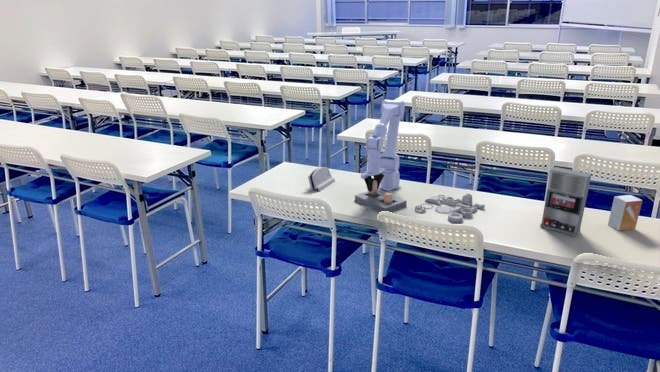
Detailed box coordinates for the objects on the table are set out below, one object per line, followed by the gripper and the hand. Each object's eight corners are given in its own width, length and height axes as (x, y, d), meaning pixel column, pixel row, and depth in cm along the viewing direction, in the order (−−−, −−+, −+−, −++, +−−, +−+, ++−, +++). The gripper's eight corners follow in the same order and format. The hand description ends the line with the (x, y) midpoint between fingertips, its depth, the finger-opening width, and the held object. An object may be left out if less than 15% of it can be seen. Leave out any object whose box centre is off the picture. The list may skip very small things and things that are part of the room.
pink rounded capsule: (373, 190, 224) (373, 179, 222) (378, 193, 221) (379, 181, 219) (366, 192, 222) (367, 180, 220) (372, 195, 219) (372, 183, 217)
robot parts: (408, 211, 212) (409, 200, 211) (437, 195, 230) (438, 185, 228) (458, 226, 197) (459, 215, 195) (485, 208, 214) (486, 197, 212)
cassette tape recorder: (539, 227, 194) (549, 170, 185) (544, 222, 198) (554, 166, 190) (575, 237, 186) (587, 178, 177) (580, 232, 190) (591, 174, 181)
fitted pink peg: (387, 203, 218) (388, 191, 216) (394, 206, 215) (394, 194, 213) (381, 206, 216) (382, 193, 214) (387, 208, 213) (388, 196, 211)
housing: (354, 200, 222) (354, 195, 222) (376, 193, 231) (376, 188, 230) (384, 213, 208) (385, 208, 207) (406, 205, 216) (406, 200, 215)
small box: (619, 231, 190) (626, 202, 186) (607, 224, 196) (613, 196, 191) (635, 229, 192) (643, 200, 187) (623, 222, 198) (630, 194, 193)
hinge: (319, 191, 233) (313, 172, 231) (311, 193, 236) (305, 174, 234) (335, 181, 247) (329, 163, 245) (328, 182, 249) (322, 165, 248)
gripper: (379, 157, 223) (378, 184, 228) (356, 163, 215) (356, 190, 220) (389, 160, 218) (388, 188, 223) (367, 167, 210) (366, 195, 215)
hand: (373, 189), depth 221 cm, fingers closed on pink rounded capsule, 4 cm apart
